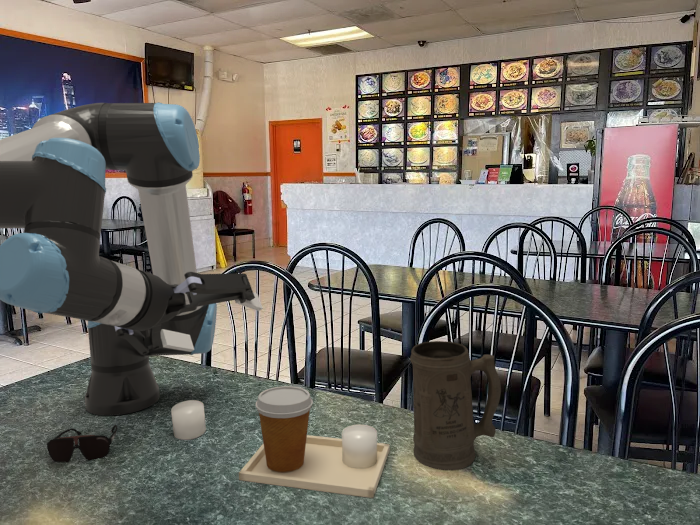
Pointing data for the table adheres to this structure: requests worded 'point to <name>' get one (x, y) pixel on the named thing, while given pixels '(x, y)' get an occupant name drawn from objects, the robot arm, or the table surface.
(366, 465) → the white rounded cylinder
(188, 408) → the rounded white cap
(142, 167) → the robot arm
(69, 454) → the sunglasses
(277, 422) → the disposable coffee cup
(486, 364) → the beer stein
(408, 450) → the table surface
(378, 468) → the serving tray
